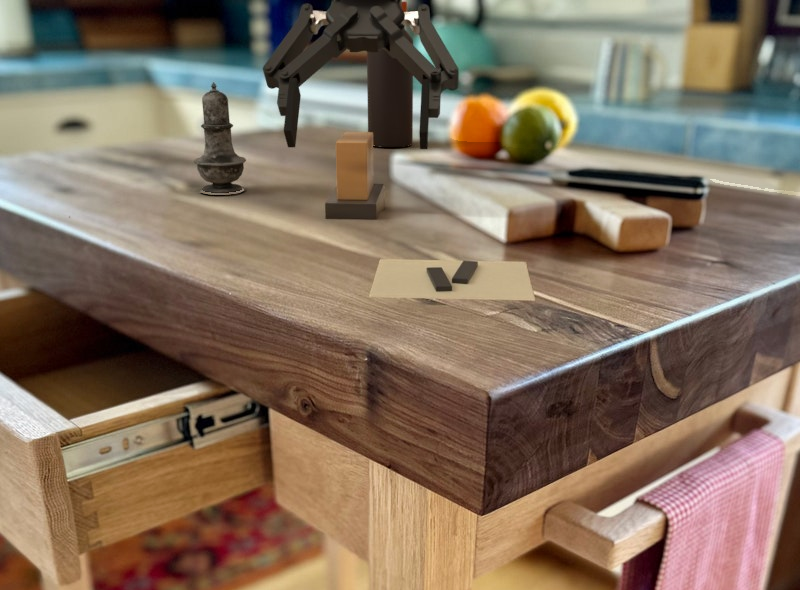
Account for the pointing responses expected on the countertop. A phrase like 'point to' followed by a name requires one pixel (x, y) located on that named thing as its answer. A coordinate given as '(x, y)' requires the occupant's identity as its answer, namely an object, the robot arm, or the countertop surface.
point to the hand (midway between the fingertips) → (356, 140)
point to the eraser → (355, 180)
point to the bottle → (390, 98)
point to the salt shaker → (218, 146)
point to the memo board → (484, 284)
